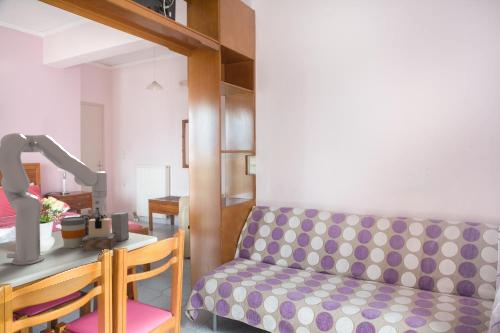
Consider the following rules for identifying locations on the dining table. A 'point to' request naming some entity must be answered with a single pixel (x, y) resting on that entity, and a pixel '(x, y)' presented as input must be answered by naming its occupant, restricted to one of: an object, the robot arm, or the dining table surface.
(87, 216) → the decorative jar
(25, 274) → the dining table surface
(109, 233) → the carton
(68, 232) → the reusable coffee cup
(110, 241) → the podium
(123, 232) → the skincare box
